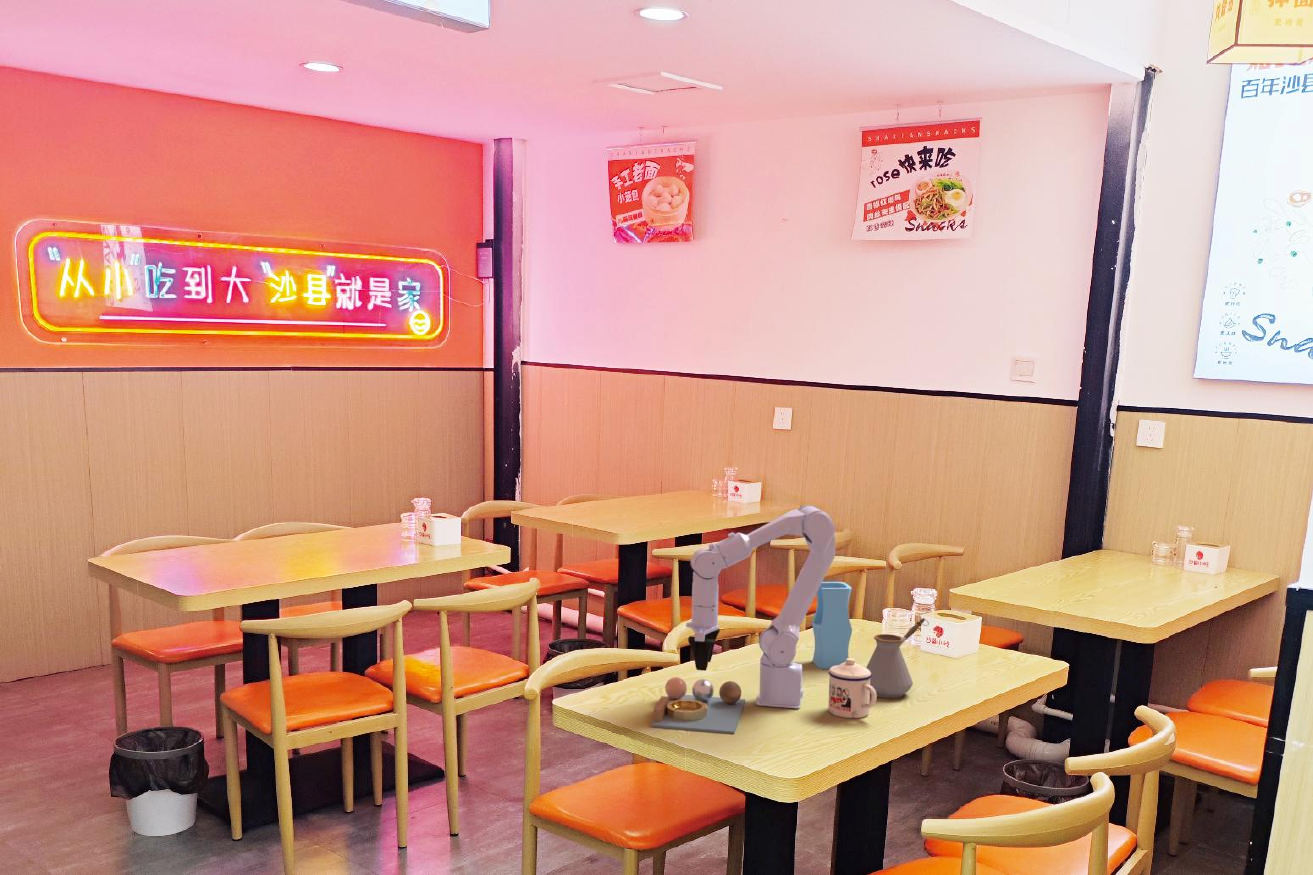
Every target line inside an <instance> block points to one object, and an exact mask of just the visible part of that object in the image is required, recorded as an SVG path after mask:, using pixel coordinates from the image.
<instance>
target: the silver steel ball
mask: <svg viewBox="0 0 1313 875" xmlns="http://www.w3.org/2000/svg"><path fill="white" fill-rule="evenodd" d="M691 692H692V694H691V695H693V696H694V697H695V699H697V700H698V701H701V702H705V701H708V700H710V699H711V698H712V697H714V693H715V687H714V685H713V683H712V682H711V681H710V680H708V679H705V678H702V679H701V678H700V679H697V681H695V682H694V683H693V685H692V687H691Z"/></svg>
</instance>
